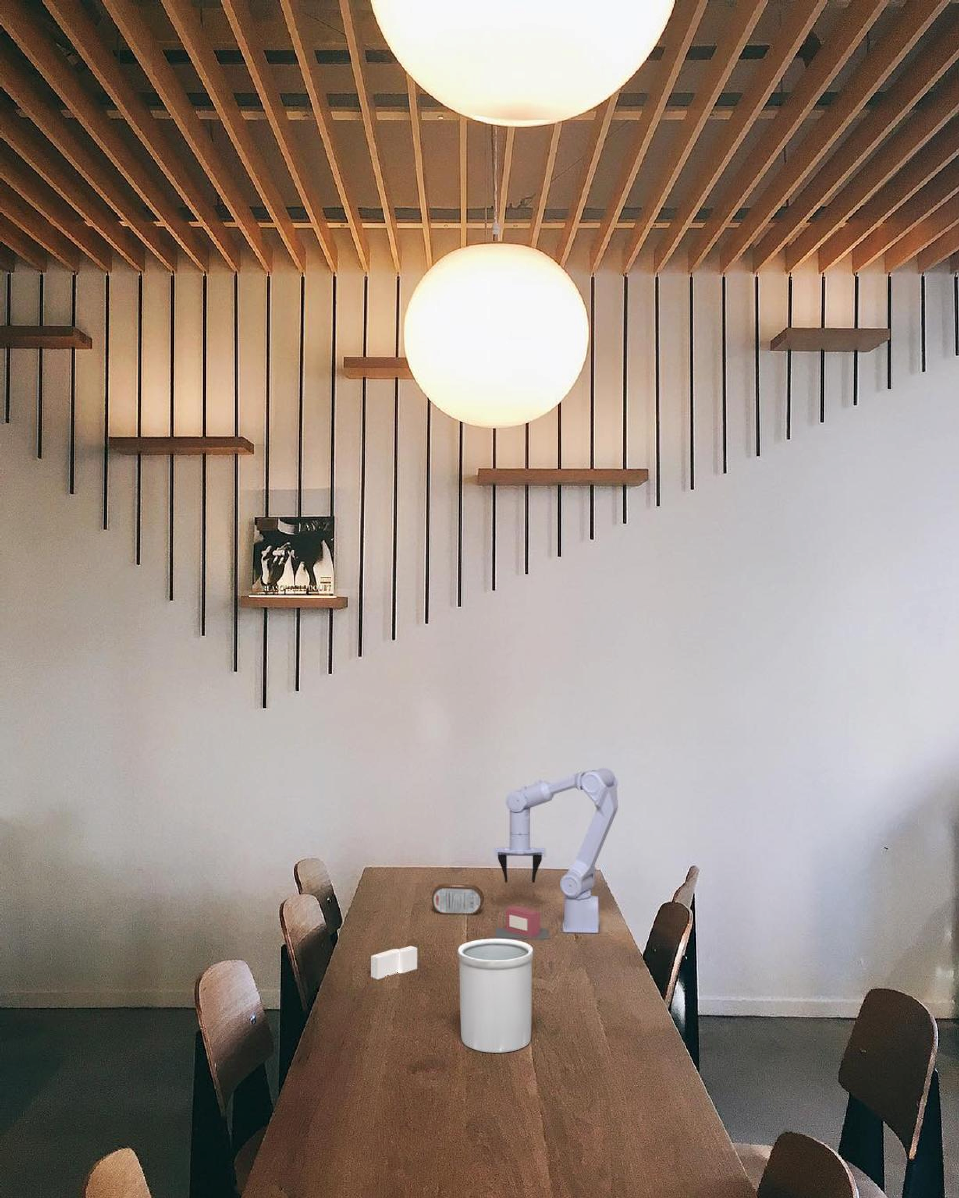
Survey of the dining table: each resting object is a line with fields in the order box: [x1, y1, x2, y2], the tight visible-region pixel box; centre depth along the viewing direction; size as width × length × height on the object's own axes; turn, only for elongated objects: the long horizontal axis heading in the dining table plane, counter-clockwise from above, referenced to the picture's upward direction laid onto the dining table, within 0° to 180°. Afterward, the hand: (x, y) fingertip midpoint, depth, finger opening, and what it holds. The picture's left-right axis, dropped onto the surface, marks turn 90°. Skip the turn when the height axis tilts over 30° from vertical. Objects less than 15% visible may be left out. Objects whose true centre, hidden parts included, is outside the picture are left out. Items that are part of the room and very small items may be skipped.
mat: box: [494, 927, 549, 940], centre depth 260 cm, size 14×8×1 cm, turn 86°
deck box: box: [505, 905, 541, 938], centre depth 260 cm, size 4×9×6 cm, turn 48°
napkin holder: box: [370, 945, 418, 980], centre depth 229 cm, size 15×11×6 cm
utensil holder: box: [457, 938, 534, 1054], centre depth 191 cm, size 15×15×18 cm
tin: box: [431, 882, 485, 916], centre depth 279 cm, size 15×3×8 cm, turn 84°
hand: (519, 881), depth 274 cm, fingers open, 7 cm apart
